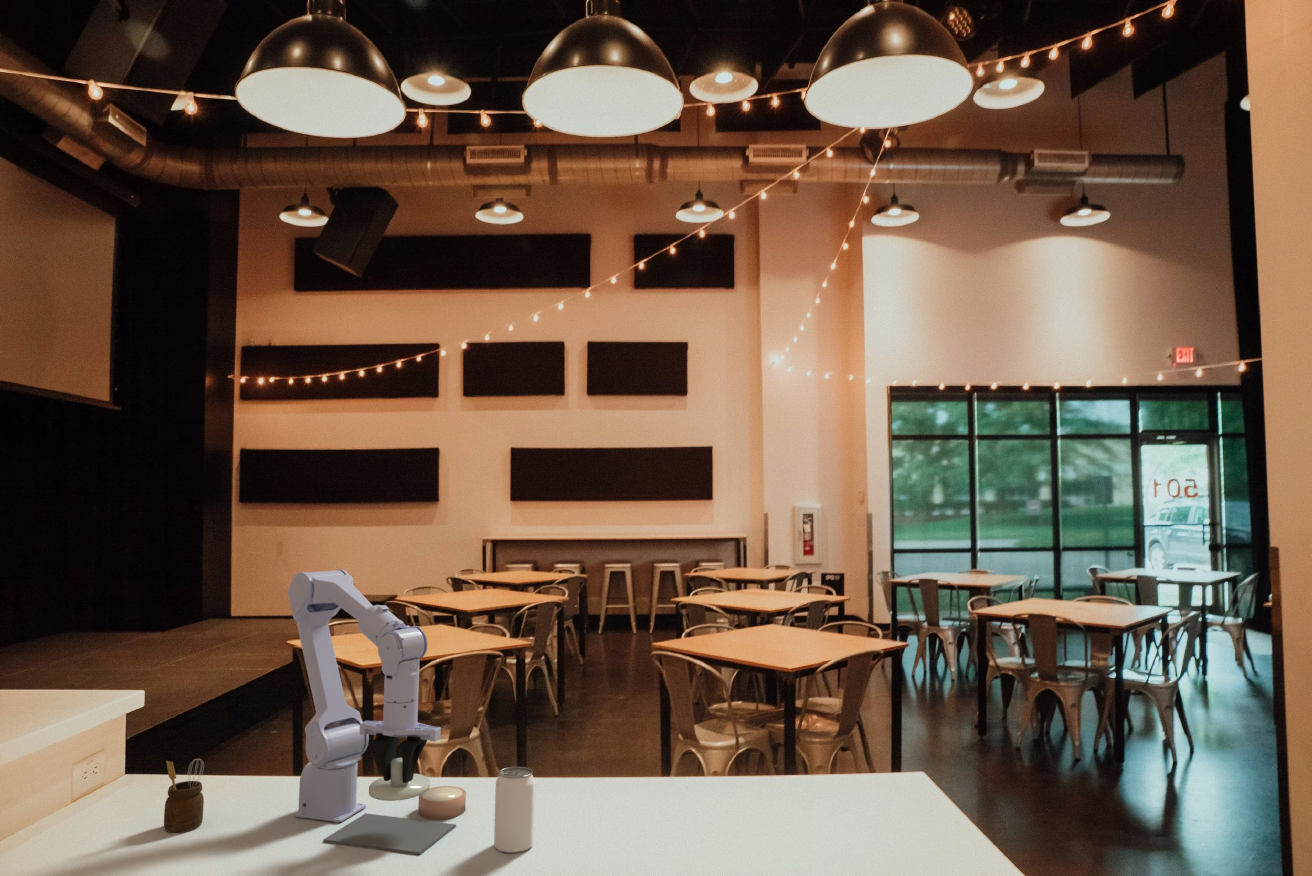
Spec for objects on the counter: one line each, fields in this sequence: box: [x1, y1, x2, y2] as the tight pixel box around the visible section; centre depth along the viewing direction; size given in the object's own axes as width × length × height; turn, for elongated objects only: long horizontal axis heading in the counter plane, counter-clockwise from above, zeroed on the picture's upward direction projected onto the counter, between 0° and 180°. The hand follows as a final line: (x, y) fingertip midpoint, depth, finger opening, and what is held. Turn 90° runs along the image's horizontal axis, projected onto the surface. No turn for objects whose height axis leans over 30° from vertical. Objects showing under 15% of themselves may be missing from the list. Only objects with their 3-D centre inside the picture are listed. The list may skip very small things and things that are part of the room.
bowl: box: [417, 785, 467, 821], centre depth 153 cm, size 8×8×3 cm
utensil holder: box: [163, 758, 205, 834], centre depth 145 cm, size 6×6×12 cm
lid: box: [368, 757, 431, 802], centre depth 143 cm, size 10×10×5 cm
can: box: [493, 766, 536, 854], centre depth 139 cm, size 6×6×12 cm
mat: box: [322, 813, 457, 856], centre depth 142 cm, size 18×12×1 cm, turn 76°
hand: (398, 779), depth 143 cm, fingers closed on lid, 3 cm apart
